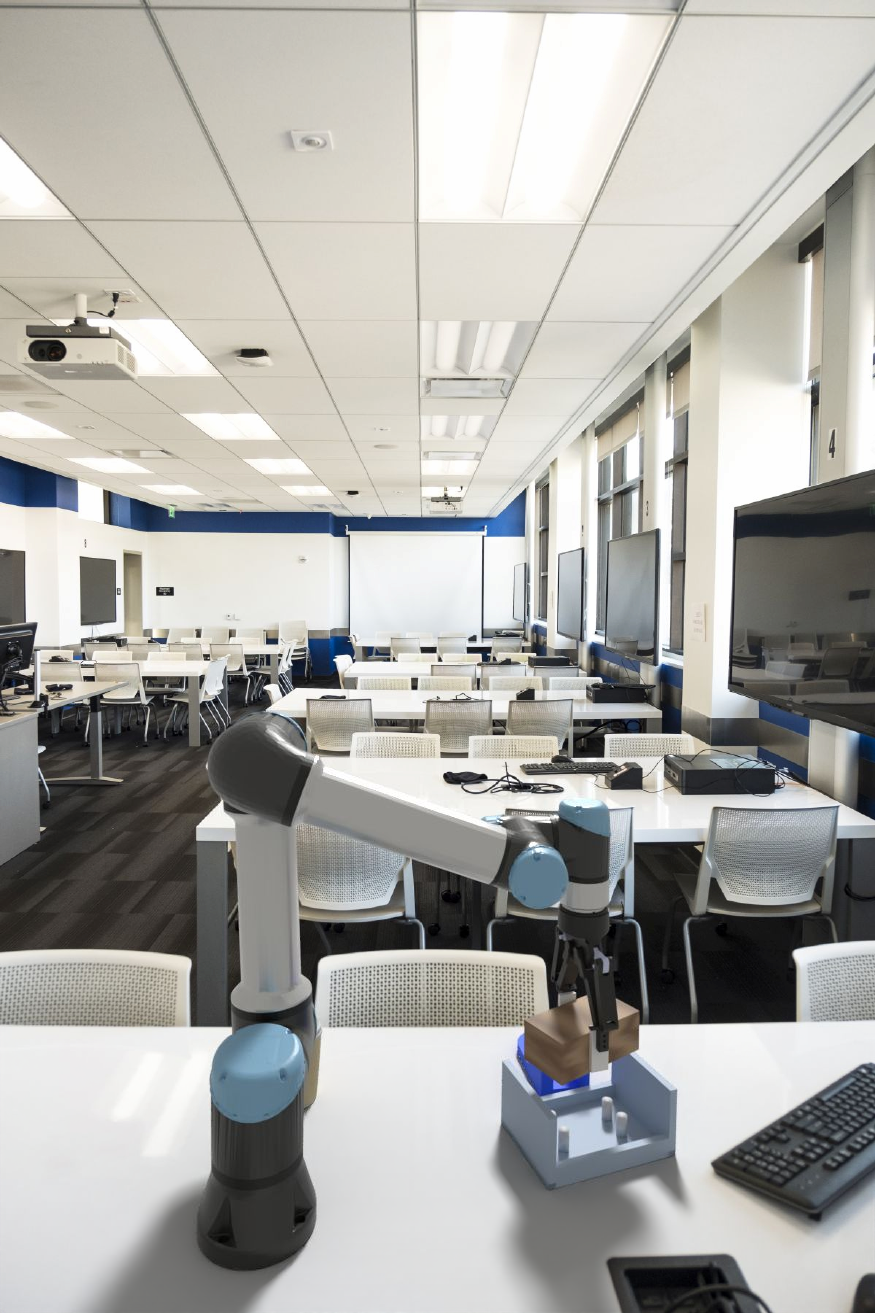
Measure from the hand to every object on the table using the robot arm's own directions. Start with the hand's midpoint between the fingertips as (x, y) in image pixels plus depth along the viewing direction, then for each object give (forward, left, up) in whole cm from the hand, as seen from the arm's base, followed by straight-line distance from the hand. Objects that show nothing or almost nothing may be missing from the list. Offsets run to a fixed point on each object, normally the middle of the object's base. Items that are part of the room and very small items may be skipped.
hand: (582, 1051), depth 116 cm
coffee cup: (-39, +26, -14) cm, 48 cm away
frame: (+1, +1, -14) cm, 14 cm away
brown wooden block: (0, 0, 0) cm, 0 cm away
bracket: (+5, +19, -15) cm, 24 cm away
